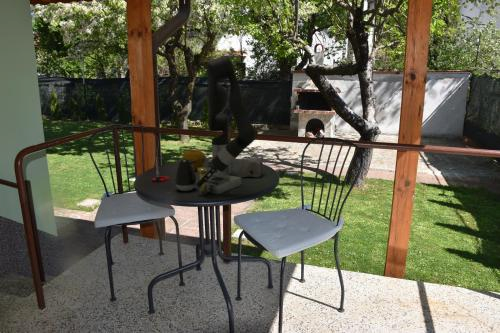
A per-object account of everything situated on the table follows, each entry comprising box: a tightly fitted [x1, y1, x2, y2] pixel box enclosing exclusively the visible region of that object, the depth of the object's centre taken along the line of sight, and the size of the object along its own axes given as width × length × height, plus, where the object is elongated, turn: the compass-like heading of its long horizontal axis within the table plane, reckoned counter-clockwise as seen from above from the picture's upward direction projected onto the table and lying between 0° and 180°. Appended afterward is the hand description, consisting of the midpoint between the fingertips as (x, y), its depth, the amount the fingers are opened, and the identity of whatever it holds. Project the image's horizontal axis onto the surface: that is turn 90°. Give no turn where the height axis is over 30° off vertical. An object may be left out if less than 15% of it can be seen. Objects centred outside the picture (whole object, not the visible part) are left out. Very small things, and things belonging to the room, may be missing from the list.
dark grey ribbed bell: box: [174, 158, 197, 192], centre depth 196 cm, size 10×10×15 cm
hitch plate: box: [198, 174, 242, 195], centre depth 200 cm, size 18×12×5 cm, turn 144°
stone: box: [237, 156, 264, 178], centre depth 220 cm, size 13×12×10 cm
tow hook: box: [151, 156, 170, 183], centre depth 216 cm, size 8×13×9 cm
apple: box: [182, 149, 207, 172], centre depth 237 cm, size 13×13×11 cm
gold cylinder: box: [196, 166, 209, 196], centre depth 189 cm, size 5×5×12 cm
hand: (199, 184), depth 190 cm, fingers closed on gold cylinder, 3 cm apart
